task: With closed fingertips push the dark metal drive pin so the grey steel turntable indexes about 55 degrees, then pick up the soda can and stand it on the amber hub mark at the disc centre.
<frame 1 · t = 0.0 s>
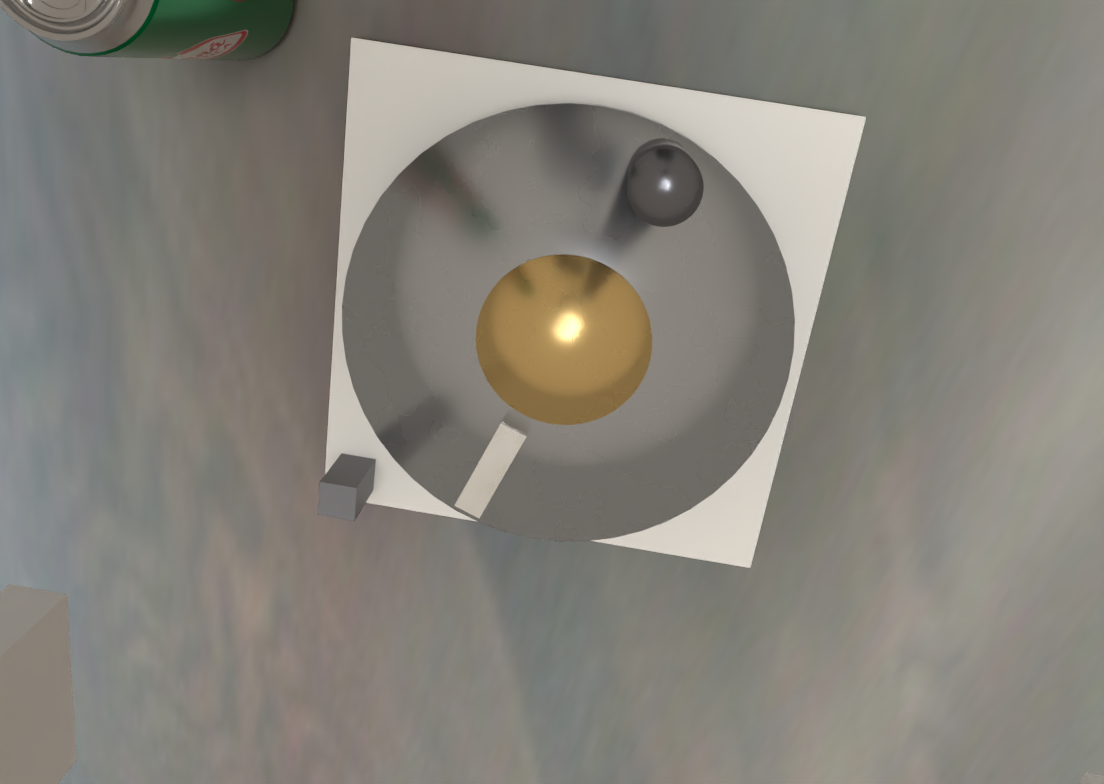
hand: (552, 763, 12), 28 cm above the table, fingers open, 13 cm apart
base plate: (569, 319, 38), on the table
turntable: (560, 352, 34), point 5 cm above the table, hinge at 0.0°
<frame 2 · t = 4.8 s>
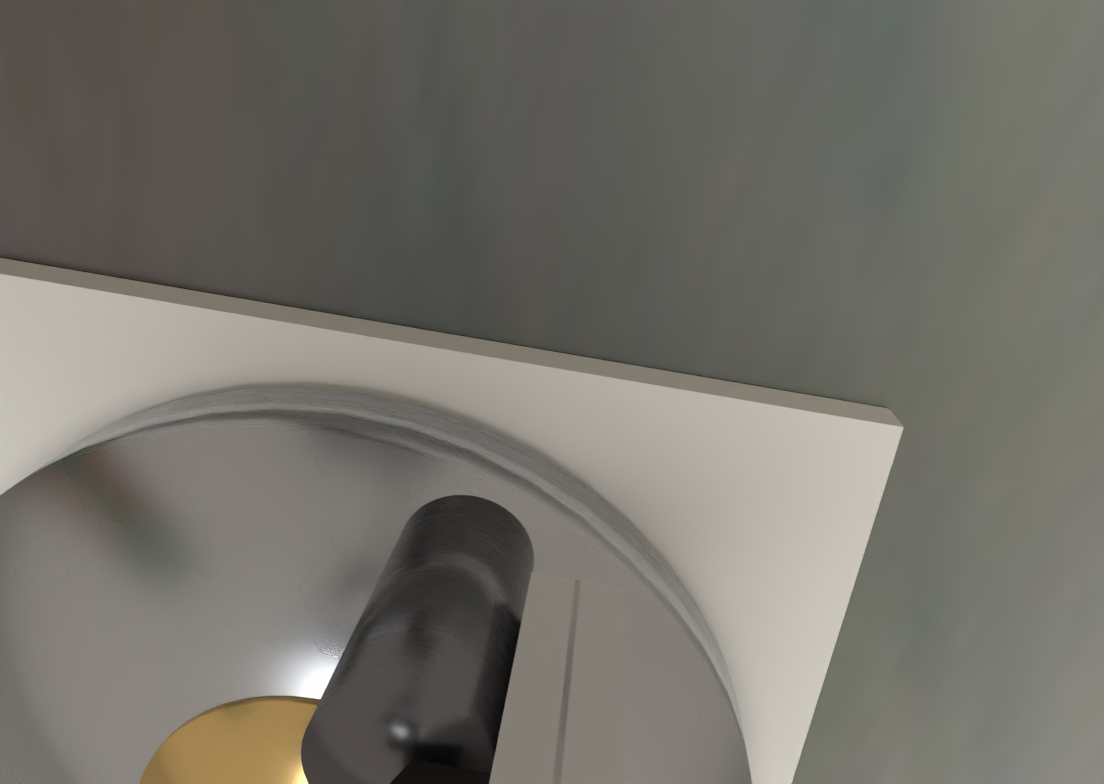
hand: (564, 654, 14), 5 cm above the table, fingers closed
base plate: (355, 722, 21), on the table
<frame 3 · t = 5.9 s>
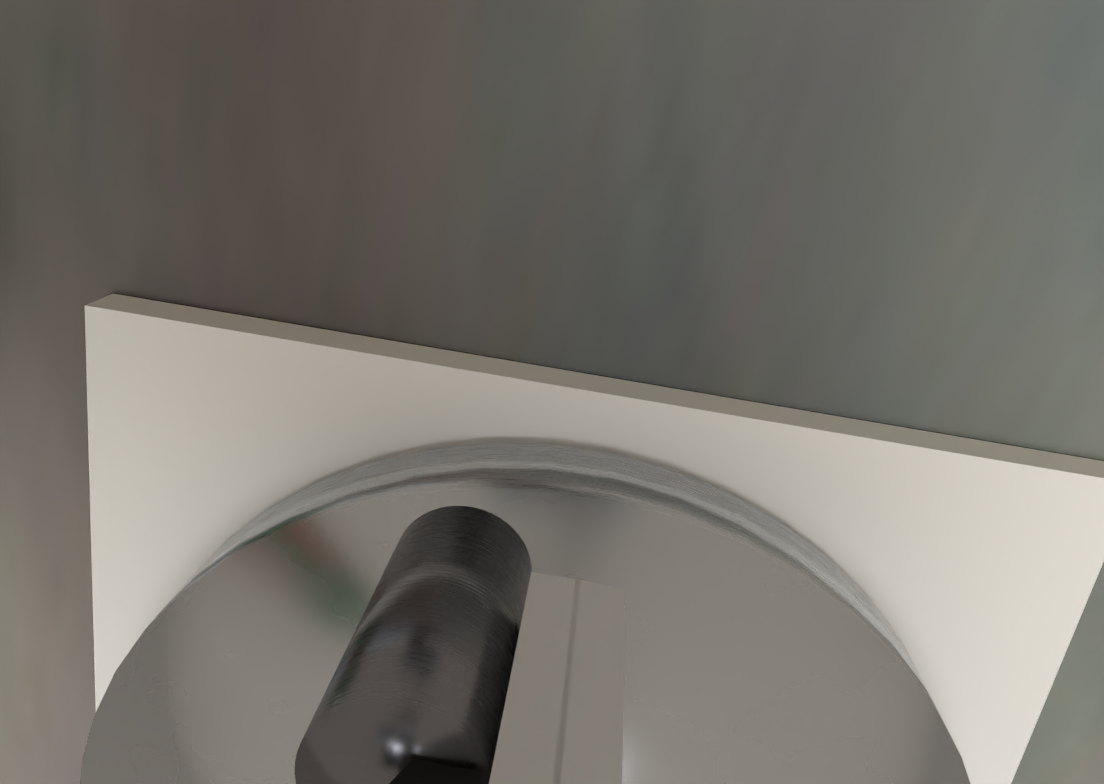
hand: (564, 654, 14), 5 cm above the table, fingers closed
base plate: (532, 772, 21), on the table
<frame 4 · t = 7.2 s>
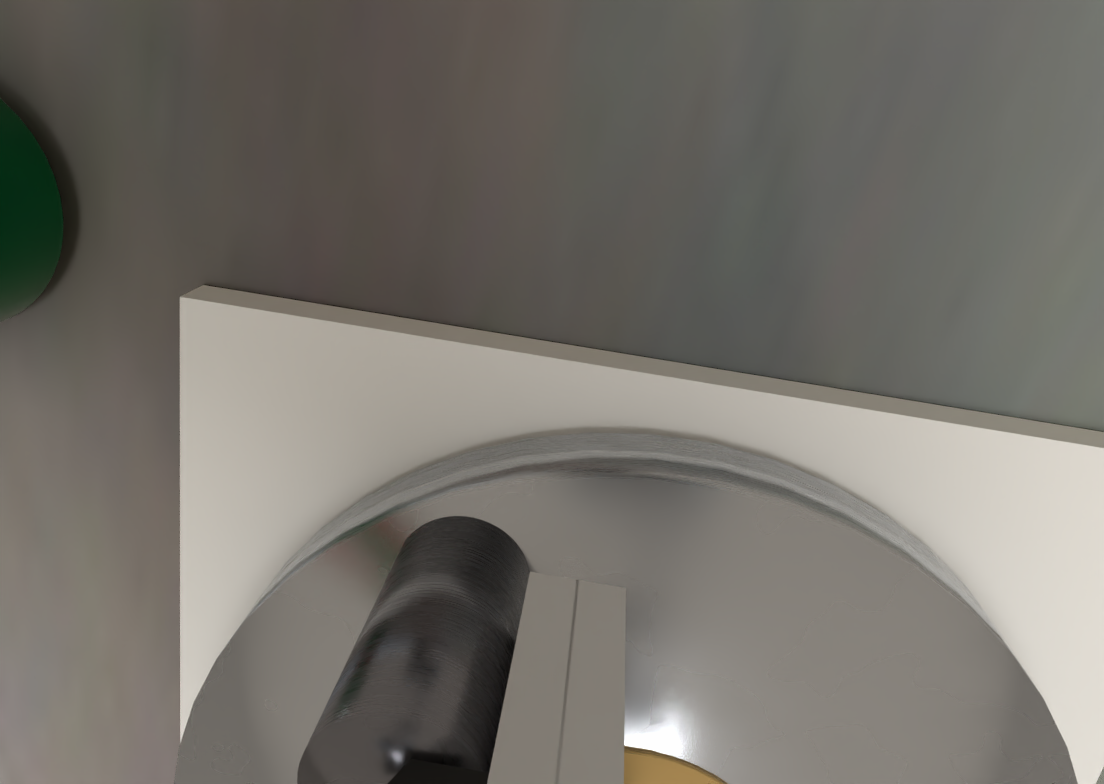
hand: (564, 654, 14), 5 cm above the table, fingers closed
base plate: (612, 761, 21), on the table
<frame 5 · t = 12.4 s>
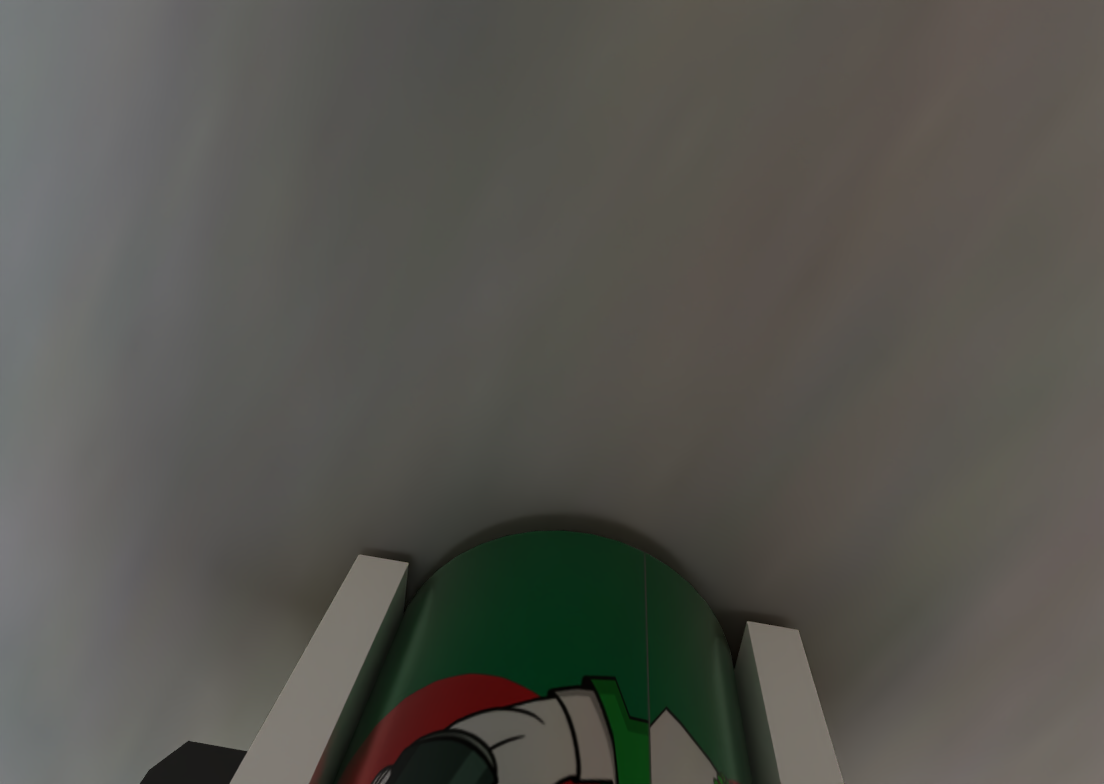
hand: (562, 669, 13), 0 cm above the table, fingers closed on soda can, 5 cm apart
soda can: (564, 648, 14), on the table, touching gripper
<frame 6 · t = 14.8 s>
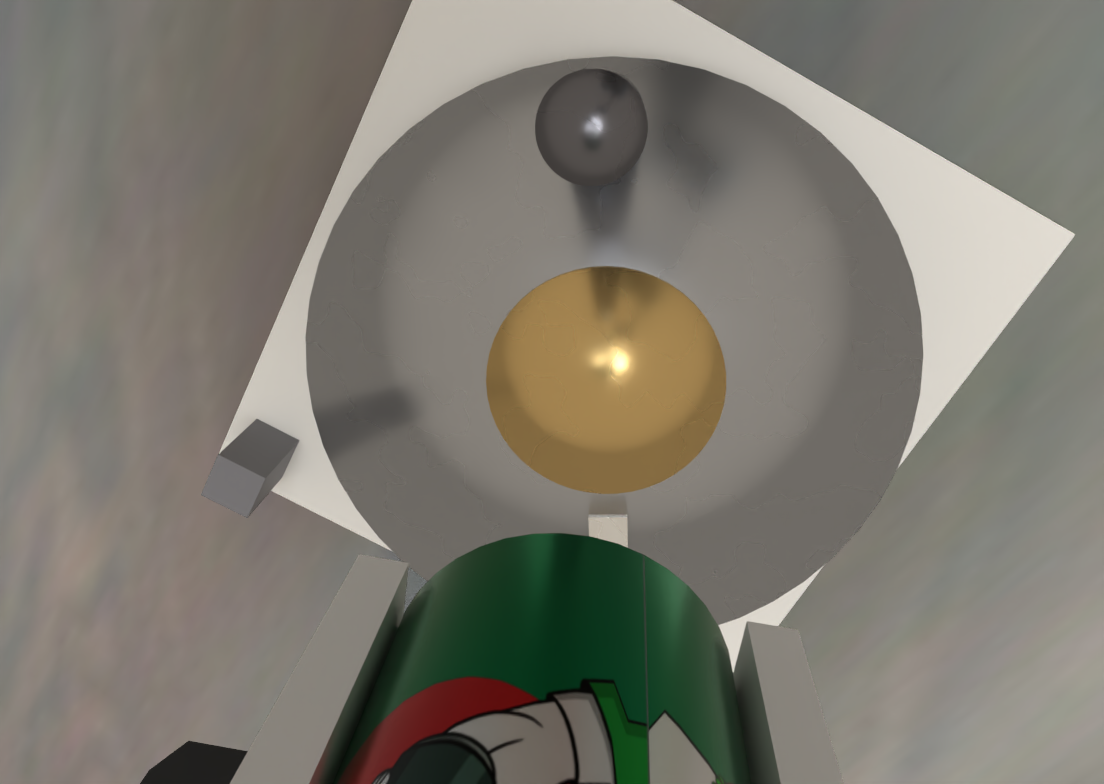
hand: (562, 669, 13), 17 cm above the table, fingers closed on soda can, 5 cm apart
base plate: (608, 349, 29), on the table
soda can: (563, 650, 14), point 16 cm above the table, touching gripper
turntable: (603, 401, 25), point 5 cm above the table, hinge at 50.2°
when the fingers open (5 cm above the table, at t = 17.2 s): soda can drops 2 cm, resting on turntable.
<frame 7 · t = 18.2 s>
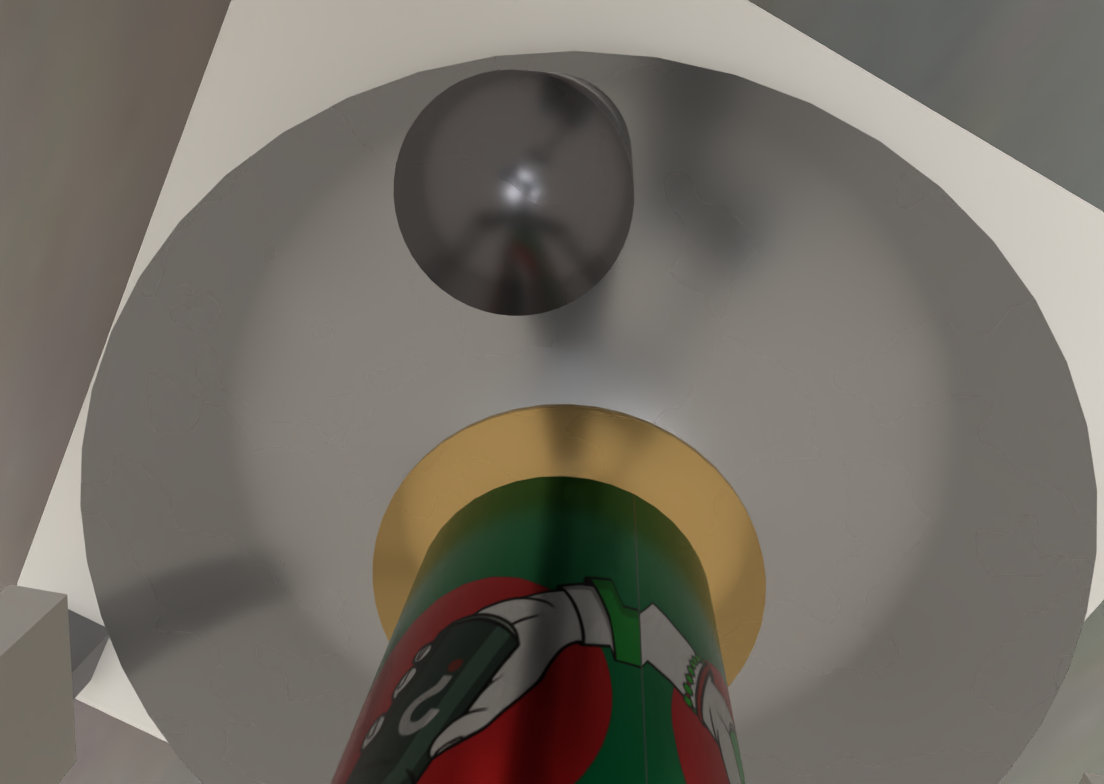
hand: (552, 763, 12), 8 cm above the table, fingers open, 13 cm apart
base plate: (576, 501, 19), on the table
soda can: (564, 586, 16), point 3 cm above the table, touching turntable
turntable: (560, 635, 15), point 5 cm above the table, hinge at 50.2°, touching soda can
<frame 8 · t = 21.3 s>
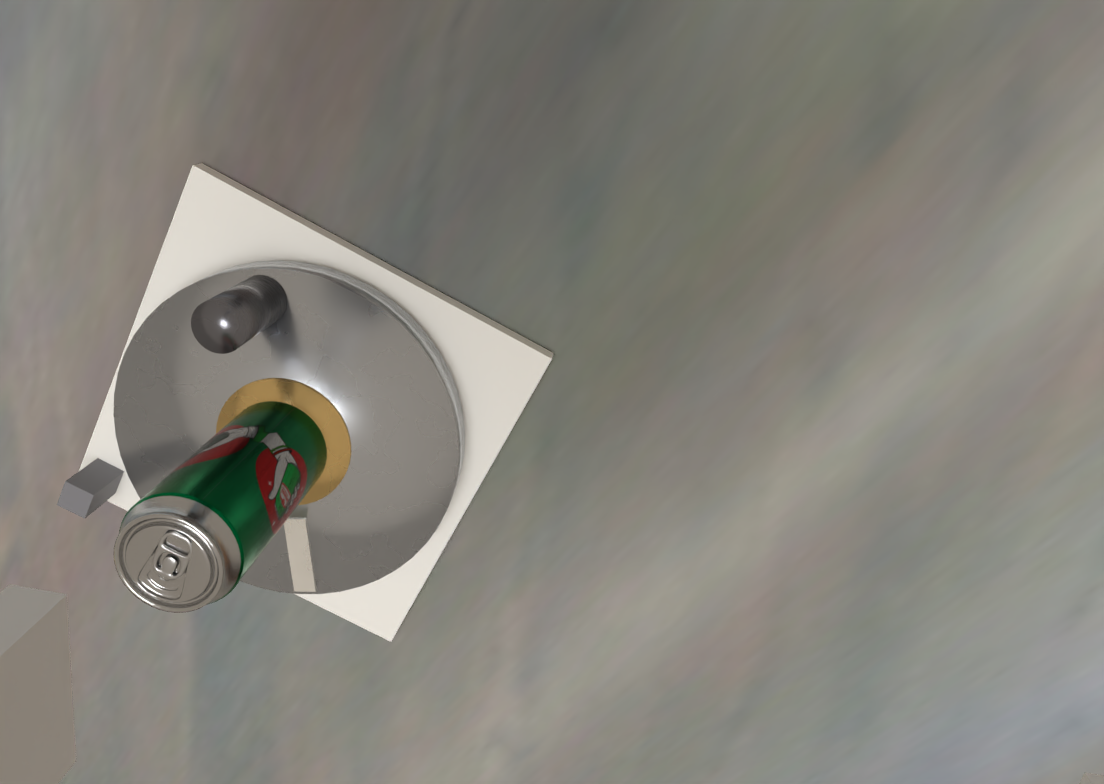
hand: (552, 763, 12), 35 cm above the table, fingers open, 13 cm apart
base plate: (307, 418, 49), on the table
soda can: (283, 442, 45), point 3 cm above the table, touching turntable
turntable: (273, 454, 44), point 5 cm above the table, hinge at 50.2°, touching soda can
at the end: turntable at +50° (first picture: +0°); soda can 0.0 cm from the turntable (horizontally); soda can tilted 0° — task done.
